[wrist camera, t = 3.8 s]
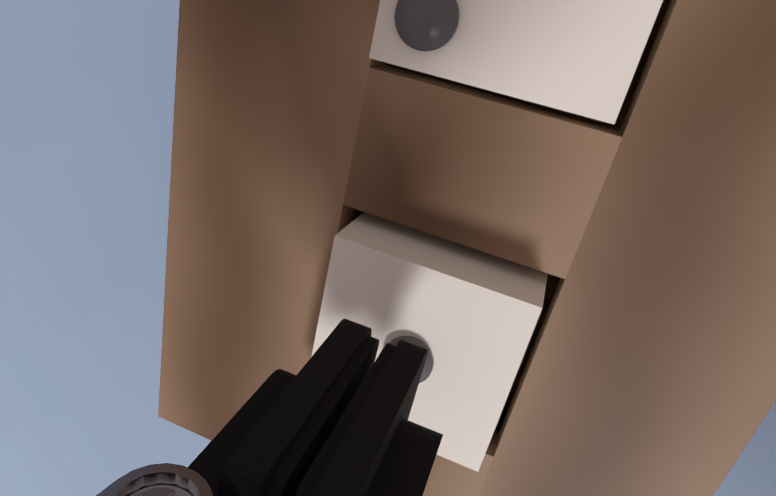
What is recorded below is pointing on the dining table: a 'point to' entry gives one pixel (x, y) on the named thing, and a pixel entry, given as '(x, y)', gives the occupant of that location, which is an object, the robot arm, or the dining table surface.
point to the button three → (523, 47)
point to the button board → (490, 232)
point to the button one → (438, 321)
